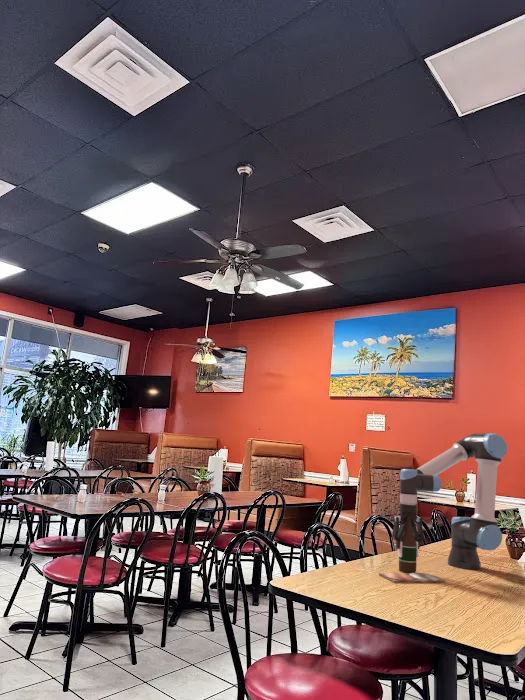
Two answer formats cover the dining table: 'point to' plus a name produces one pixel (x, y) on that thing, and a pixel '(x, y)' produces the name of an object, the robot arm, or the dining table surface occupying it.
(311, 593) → the dining table surface
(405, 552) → the beer bottle
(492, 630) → the dining table surface
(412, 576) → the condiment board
